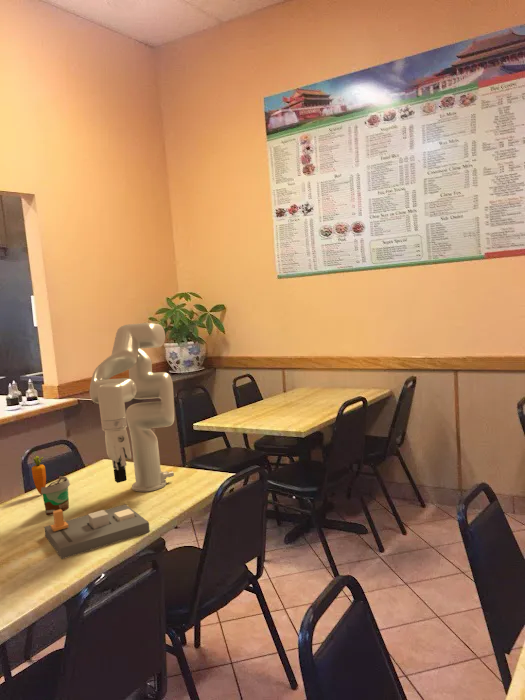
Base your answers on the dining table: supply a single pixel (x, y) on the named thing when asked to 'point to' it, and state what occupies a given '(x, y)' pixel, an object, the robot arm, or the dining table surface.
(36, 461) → the carrot
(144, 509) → the dining table surface
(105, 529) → the switch panel
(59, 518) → the orange slider handle
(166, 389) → the robot arm
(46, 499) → the food container
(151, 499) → the dining table surface
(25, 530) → the dining table surface
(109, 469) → the dining table surface
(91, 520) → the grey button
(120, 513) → the cream button
